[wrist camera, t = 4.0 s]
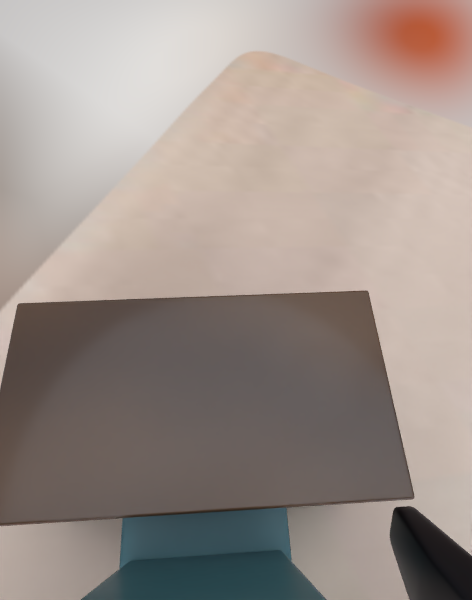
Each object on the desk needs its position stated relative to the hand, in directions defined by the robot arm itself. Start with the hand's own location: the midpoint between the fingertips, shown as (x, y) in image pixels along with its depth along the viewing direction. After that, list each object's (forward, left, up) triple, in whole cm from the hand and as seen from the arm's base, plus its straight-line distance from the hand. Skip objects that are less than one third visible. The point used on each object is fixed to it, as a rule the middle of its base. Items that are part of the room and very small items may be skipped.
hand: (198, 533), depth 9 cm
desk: (+3, +2, -7) cm, 8 cm away
